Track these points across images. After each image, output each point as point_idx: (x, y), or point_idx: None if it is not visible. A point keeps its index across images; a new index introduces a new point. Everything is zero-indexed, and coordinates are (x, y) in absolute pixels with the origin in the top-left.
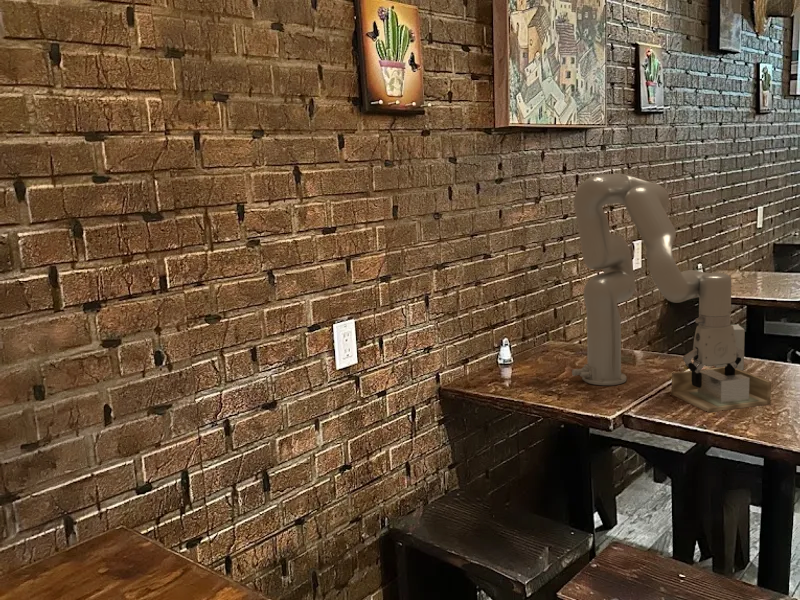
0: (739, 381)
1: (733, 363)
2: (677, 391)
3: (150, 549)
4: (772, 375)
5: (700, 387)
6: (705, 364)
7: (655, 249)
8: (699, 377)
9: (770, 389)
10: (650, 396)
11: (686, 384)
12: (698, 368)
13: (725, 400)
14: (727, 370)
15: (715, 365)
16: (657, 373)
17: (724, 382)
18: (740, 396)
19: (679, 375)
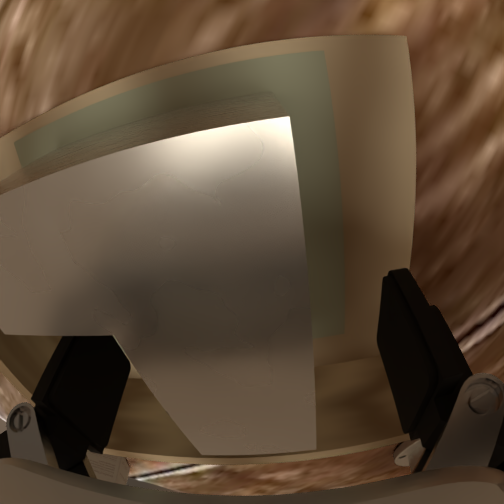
0: (19, 180)
1: (22, 449)
2: (376, 354)
3: None
4: (7, 392)
5: (390, 271)
6: (487, 480)
7: None
8: (444, 335)
9: None
10: (469, 333)
11: (330, 389)
12: (485, 425)
13: (228, 99)
14: (92, 416)
15: (126, 464)
16: (290, 467)
17: (227, 121)
18: (91, 137)
19: (384, 428)
